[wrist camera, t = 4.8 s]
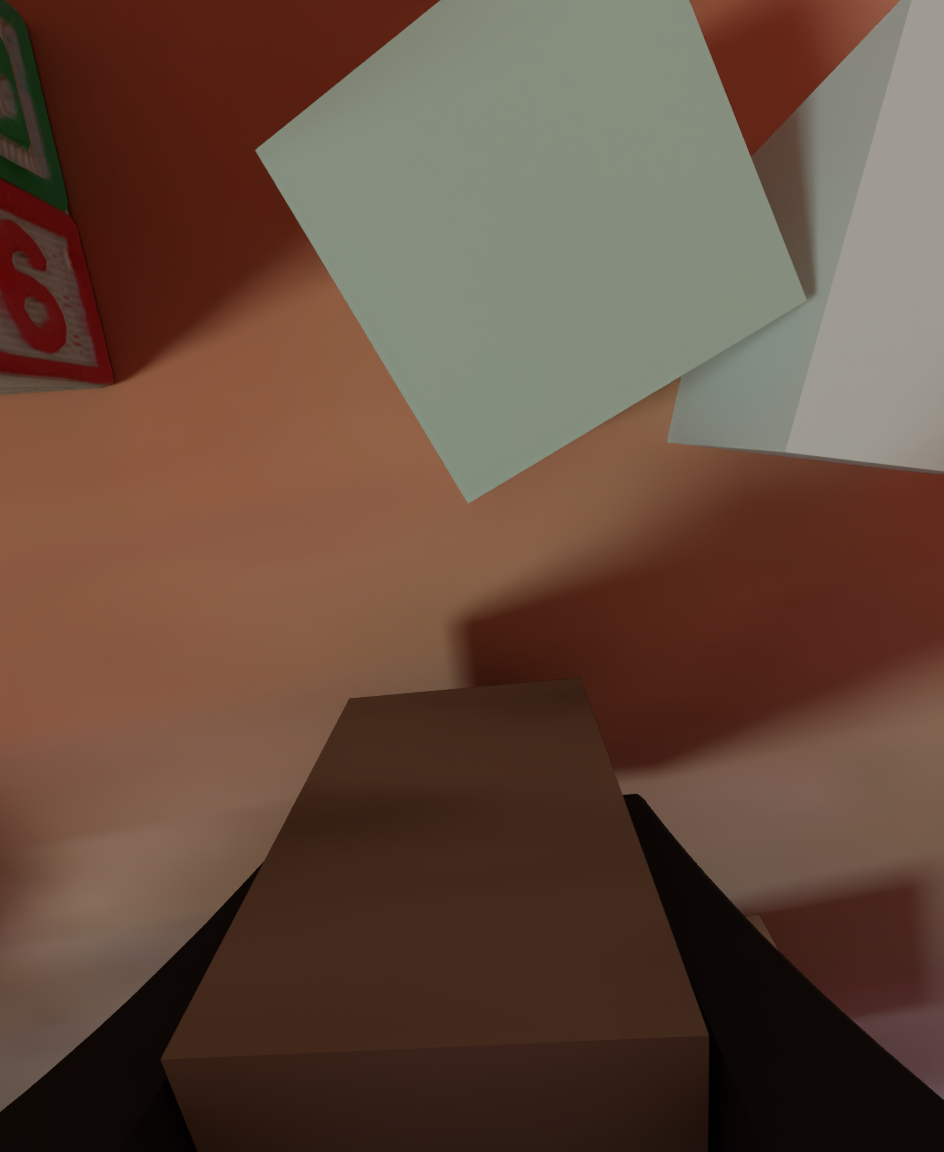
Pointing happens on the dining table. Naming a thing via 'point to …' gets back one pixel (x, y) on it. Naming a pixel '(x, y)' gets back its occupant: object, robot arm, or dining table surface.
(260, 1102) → the walnut bar
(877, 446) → the white block
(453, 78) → the sage block
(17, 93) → the stack of blocks
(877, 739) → the dining table surface
